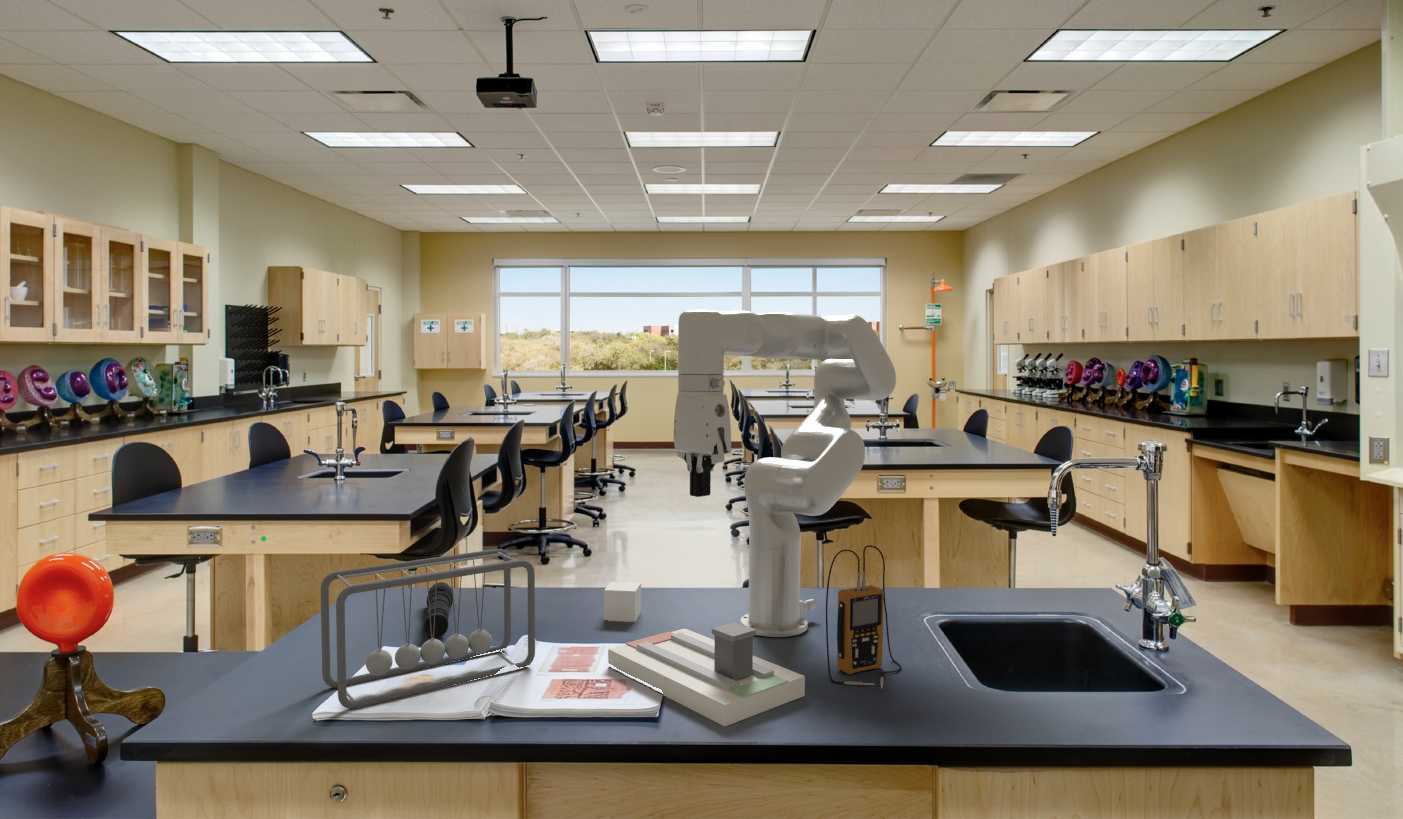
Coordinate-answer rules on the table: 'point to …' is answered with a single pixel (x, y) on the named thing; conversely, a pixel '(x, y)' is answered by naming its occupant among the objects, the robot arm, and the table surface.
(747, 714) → the slider rail board
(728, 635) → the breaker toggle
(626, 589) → the white cube
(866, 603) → the multimeter
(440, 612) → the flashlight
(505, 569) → the newton's cradle
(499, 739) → the table surface
